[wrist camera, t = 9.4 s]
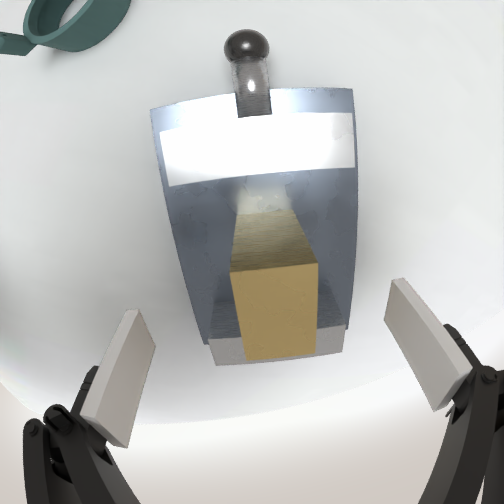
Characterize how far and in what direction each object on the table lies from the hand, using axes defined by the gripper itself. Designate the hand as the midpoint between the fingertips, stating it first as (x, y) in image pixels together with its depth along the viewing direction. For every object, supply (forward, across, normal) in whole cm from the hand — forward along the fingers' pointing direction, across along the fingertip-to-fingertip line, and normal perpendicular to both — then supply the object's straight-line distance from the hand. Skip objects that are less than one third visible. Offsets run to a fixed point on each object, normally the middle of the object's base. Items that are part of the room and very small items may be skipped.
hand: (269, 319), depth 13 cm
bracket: (+11, -12, +24) cm, 29 cm away
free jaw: (+8, +1, +11) cm, 13 cm away
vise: (+10, +1, +1) cm, 10 cm away
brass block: (+8, +1, 0) cm, 8 cm away
